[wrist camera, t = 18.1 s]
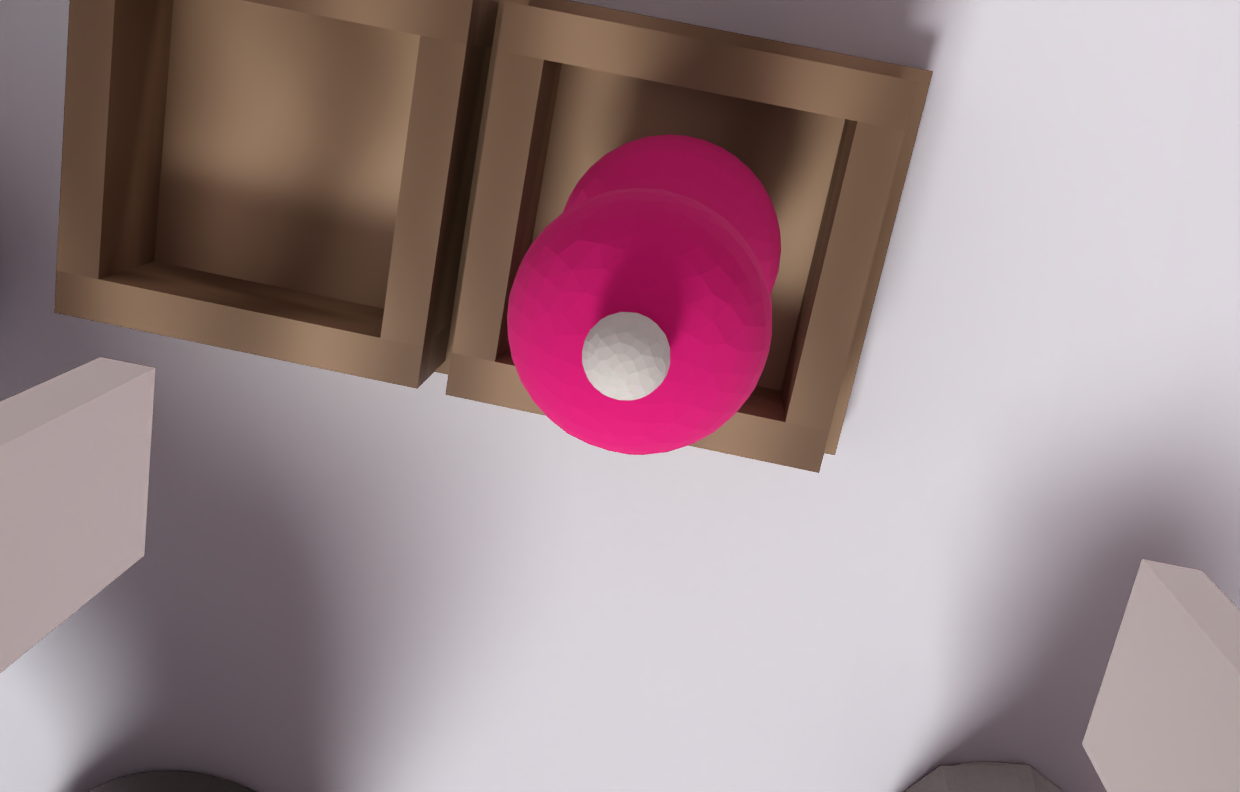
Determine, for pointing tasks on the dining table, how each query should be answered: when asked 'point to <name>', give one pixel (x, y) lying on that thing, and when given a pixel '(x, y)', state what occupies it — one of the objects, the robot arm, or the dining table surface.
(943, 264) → the dining table surface
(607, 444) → the pepper mill
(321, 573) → the dining table surface
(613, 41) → the wooden divided tray
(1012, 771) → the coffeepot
